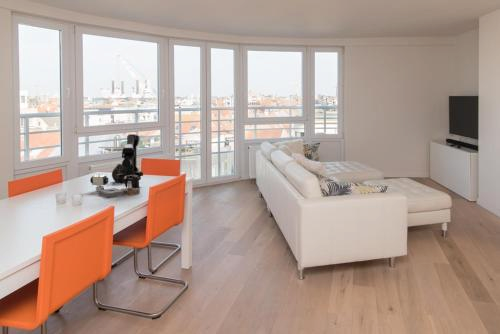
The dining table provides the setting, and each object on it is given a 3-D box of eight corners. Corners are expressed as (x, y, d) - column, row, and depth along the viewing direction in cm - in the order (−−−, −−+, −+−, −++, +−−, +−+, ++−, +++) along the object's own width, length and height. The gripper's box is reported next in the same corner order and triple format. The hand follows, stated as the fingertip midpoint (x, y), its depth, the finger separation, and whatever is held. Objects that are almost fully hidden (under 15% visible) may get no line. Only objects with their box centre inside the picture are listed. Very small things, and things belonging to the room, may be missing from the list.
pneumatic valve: (106, 191, 307) (105, 175, 306) (90, 191, 309) (89, 174, 307) (109, 190, 313) (108, 173, 311) (94, 189, 314) (93, 173, 312)
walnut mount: (132, 191, 309) (132, 187, 308) (139, 193, 302) (139, 189, 301) (120, 193, 303) (120, 189, 302) (128, 195, 296) (127, 191, 295)
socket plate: (114, 191, 307) (114, 187, 306) (124, 195, 297) (124, 190, 297) (98, 194, 298) (98, 190, 298) (108, 197, 289) (108, 193, 288)
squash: (132, 176, 336) (130, 160, 344) (112, 178, 332) (110, 162, 339) (132, 185, 348) (130, 170, 355) (113, 187, 343) (111, 171, 351)
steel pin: (130, 192, 304) (130, 181, 303) (132, 193, 302) (132, 181, 301) (127, 193, 302) (127, 181, 301) (129, 193, 301) (129, 182, 299)
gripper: (135, 162, 311) (135, 183, 314) (110, 165, 298) (112, 187, 301) (143, 164, 303) (144, 185, 306) (118, 167, 290) (119, 189, 293)
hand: (129, 187), depth 302 cm, fingers open, 5 cm apart
